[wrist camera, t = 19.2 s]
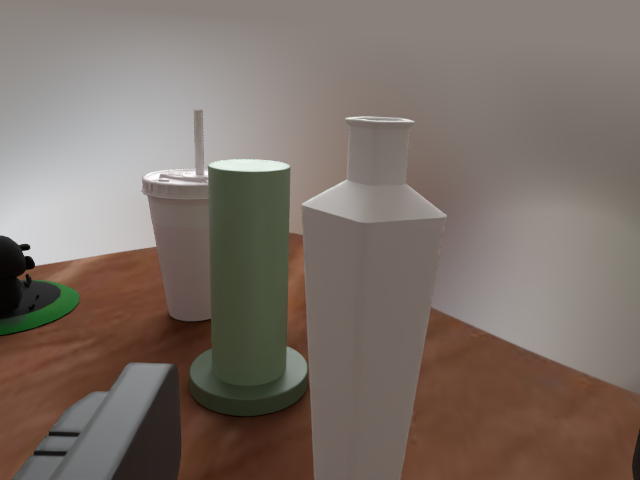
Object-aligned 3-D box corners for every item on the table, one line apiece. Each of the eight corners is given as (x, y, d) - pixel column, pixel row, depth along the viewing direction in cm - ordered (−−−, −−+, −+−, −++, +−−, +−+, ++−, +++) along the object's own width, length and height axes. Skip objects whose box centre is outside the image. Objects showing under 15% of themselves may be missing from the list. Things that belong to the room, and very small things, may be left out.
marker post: (245, 433, 26) (245, 181, 23) (165, 383, 30) (155, 162, 27) (331, 381, 31) (341, 167, 28) (252, 344, 35) (252, 153, 31)
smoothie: (235, 330, 37) (234, 114, 33) (137, 329, 36) (124, 110, 32) (244, 294, 43) (243, 108, 39) (160, 293, 42) (151, 105, 39)
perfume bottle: (279, 551, 20) (288, 119, 15) (309, 470, 24) (323, 112, 20) (409, 579, 19) (456, 128, 15) (417, 490, 23) (455, 119, 19)
